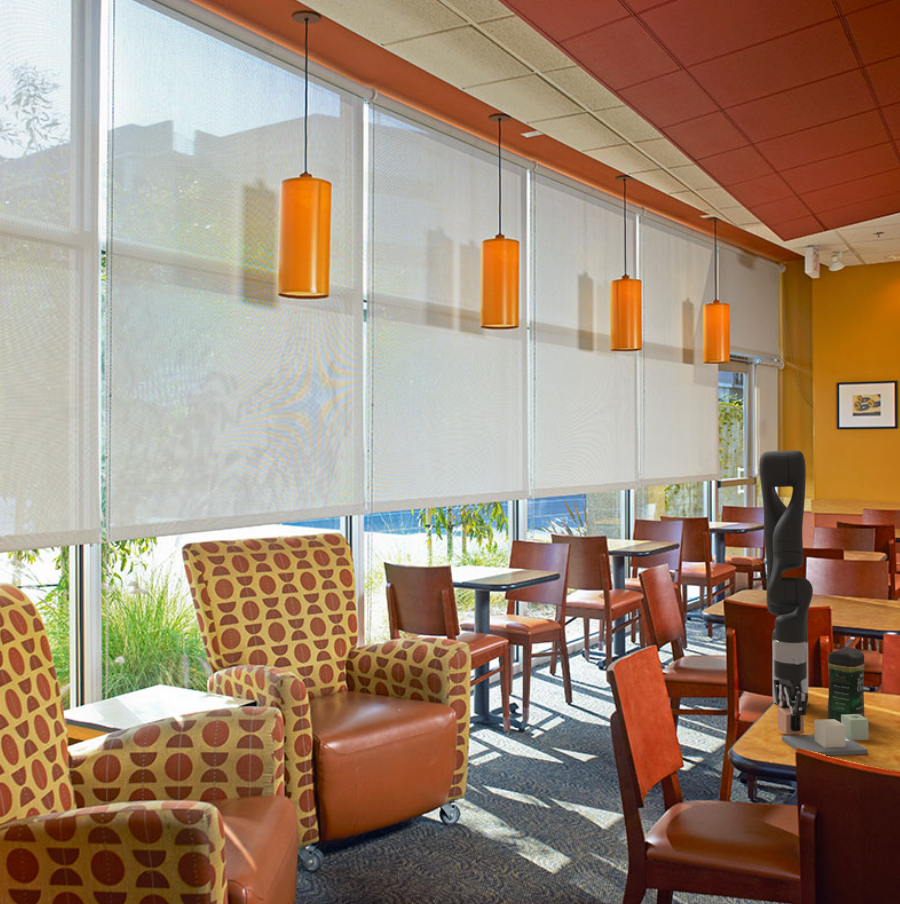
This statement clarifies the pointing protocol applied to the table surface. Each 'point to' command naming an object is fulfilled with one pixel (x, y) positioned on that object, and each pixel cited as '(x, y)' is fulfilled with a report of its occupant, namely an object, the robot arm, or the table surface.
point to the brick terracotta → (788, 722)
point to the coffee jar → (846, 683)
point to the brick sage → (855, 726)
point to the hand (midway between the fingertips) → (790, 726)
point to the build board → (818, 748)
